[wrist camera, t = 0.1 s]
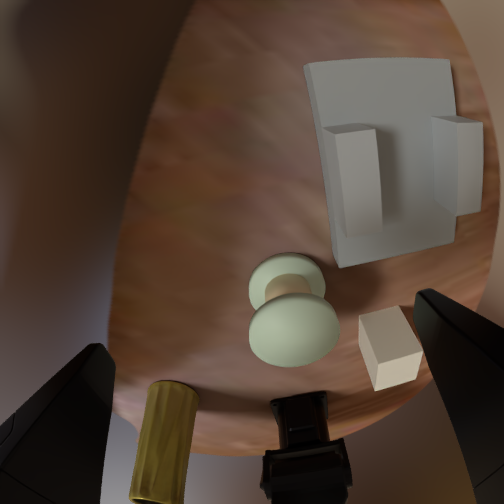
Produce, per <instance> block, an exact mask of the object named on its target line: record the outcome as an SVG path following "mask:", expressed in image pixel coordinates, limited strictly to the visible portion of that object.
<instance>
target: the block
mask: <svg viewBox="0 0 504 504" xmlns="http://www.w3.org/2000/svg"><path fill="white" fill-rule="evenodd" d="M359 347H360V349H361V352H362V355H363V358H364V361H365V364H366V367H367V370H368V373H369V375H370V378H371V381H372V384H373V388H374V391H378V390H382V389H385V388H389V387H392V386H395V385H399V384H402V383H405V382H408V381H412V380H415V379H416V376H417V373H418V369H419V365H420V362H421V358H422V354H423V349H422V347H421V346H420V344H419V342H418V340H417V338H416V336H415V334H414V332H413V331H412V329H411V327H410V325H409V323H408V321H407V320H406V318H405V316H404V314H403V313H402V311H401V309H400V307H399V305H398V306H395V307H391V308H387V309H383V310H379V311H375V312H371V313H366V314H362V315H359Z"/></svg>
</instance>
